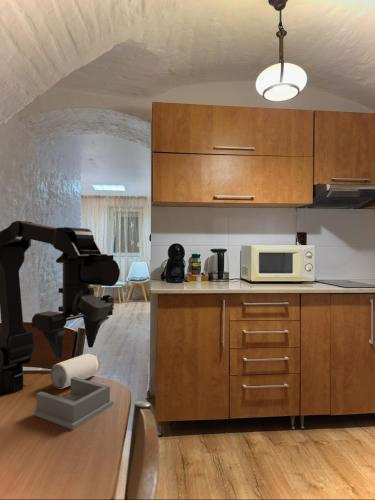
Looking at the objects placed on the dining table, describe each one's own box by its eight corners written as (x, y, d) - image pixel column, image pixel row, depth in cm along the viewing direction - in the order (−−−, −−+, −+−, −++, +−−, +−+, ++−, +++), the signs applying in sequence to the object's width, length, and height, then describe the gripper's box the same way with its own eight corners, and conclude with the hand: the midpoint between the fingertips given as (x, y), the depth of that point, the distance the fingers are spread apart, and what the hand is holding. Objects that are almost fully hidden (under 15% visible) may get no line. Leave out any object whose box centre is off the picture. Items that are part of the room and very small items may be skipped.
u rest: (33, 415, 73) (34, 394, 72) (76, 393, 83) (76, 376, 83) (73, 430, 67) (73, 407, 67) (113, 405, 77) (113, 386, 77)
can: (65, 365, 84) (100, 353, 95) (49, 362, 87) (84, 351, 98) (66, 391, 84) (101, 376, 94) (49, 387, 87) (85, 373, 98)
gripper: (69, 290, 63) (68, 373, 63) (130, 282, 79) (130, 347, 79) (30, 286, 68) (29, 362, 68) (95, 279, 84) (95, 340, 85)
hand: (75, 352), depth 75 cm, fingers open, 9 cm apart
